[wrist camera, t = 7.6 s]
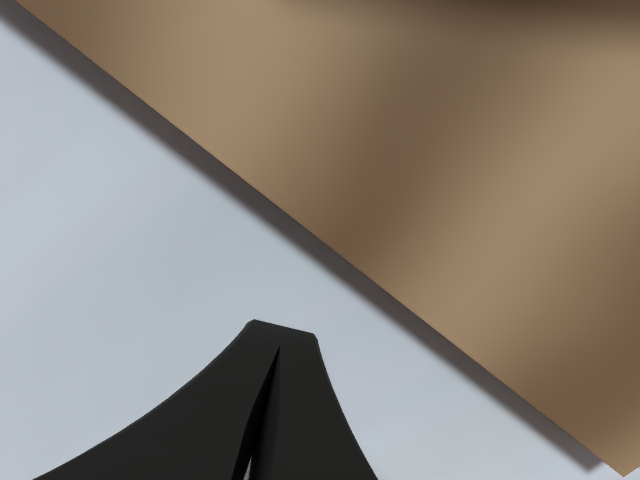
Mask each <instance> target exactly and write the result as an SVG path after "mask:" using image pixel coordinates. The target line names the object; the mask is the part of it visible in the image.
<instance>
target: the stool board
mask: <svg viewBox="0 0 640 480" xmlns="http://www.w3.org/2000/svg"><path fill="white" fill-rule="evenodd" d="M15 1H16V2H18V3H19V4H20V5H21V6H23V7H24V8H25V9H27V10H28V11H29V12H30V13H32V14H33V15H34V16H36V17H37V18H38V19H39V20H41V21H42V22H43V23H44V24H46V25H47V26H48V27H50V28H51V29H52V30H53V31H55V32H56V33H57V34H59V35H60V36H61V37H62V38H64V39H65V40H66V41H67V42H69V43H70V44H71V45H73V46H74V47H75V48H76V49H78V50H79V51H80V52H81V53H83V54H84V55H85V56H87V57H88V58H89V59H90V60H92V61H93V62H94V63H96V64H97V65H98V66H99V67H101V68H102V69H103V70H104V71H106V72H107V73H108V74H110V75H111V76H112V77H113V78H115V79H116V80H117V81H119V82H120V83H121V84H122V85H124V86H125V87H126V88H127V89H129V90H130V91H131V92H133V93H134V94H135V95H136V96H138V97H139V98H140V99H141V100H143V101H144V102H145V103H147V104H148V105H149V106H150V107H152V108H153V109H154V110H156V111H157V112H158V113H159V114H161V115H162V116H163V117H164V118H166V119H167V120H168V121H170V122H171V123H172V124H173V125H175V126H176V127H177V128H179V129H180V130H181V131H182V132H184V133H185V134H186V135H187V136H189V137H190V138H191V139H193V140H194V141H195V142H196V143H198V144H199V145H200V146H201V147H203V148H204V149H205V150H207V151H208V152H209V153H210V154H212V155H213V156H214V157H216V158H217V159H218V160H219V161H221V162H222V163H223V164H224V165H226V166H227V167H228V168H230V169H231V170H232V171H233V172H235V173H236V174H237V175H239V176H240V177H241V178H242V179H244V180H245V181H246V182H247V183H249V184H250V185H251V186H253V187H254V188H255V189H256V190H258V191H259V192H260V193H262V194H263V195H264V196H265V197H267V198H268V199H269V200H270V201H272V202H273V203H274V204H276V205H277V206H278V207H279V208H281V209H282V210H283V211H284V212H286V213H287V214H288V215H290V216H291V217H292V218H293V219H295V220H296V221H297V222H299V223H300V224H301V225H302V226H304V227H305V228H306V229H307V230H309V231H310V232H311V233H313V234H314V235H315V236H316V237H318V238H319V239H320V240H322V241H323V242H324V243H325V244H327V245H328V246H329V247H330V248H332V249H333V250H334V251H336V252H337V253H338V254H339V255H341V256H342V257H343V258H344V259H346V260H347V261H348V262H350V263H351V264H352V265H353V266H355V267H356V268H357V269H359V270H360V271H361V272H362V273H364V274H365V275H366V276H367V277H369V278H370V279H371V280H373V281H374V282H375V283H376V284H378V285H379V286H380V287H382V288H383V289H384V290H385V291H387V292H388V293H389V294H390V295H392V296H393V297H394V298H396V299H397V300H398V301H399V302H401V303H402V304H403V305H404V306H406V307H407V308H408V309H410V310H411V311H412V312H413V313H415V314H416V315H417V316H419V317H420V318H421V319H422V320H424V321H425V322H426V323H427V324H429V325H430V326H431V327H433V328H434V329H435V330H436V331H438V332H439V333H440V334H442V335H443V336H444V337H445V338H447V339H448V340H449V341H450V342H452V343H453V344H454V345H456V346H457V347H458V348H459V349H461V350H462V351H463V352H465V353H466V354H467V355H468V356H470V357H471V358H472V359H473V360H475V361H476V362H477V363H479V364H480V365H481V366H482V367H484V368H485V369H486V370H487V371H489V372H490V373H491V374H493V375H494V376H495V377H496V378H498V379H499V380H500V381H502V382H503V383H504V384H505V385H507V386H508V387H509V388H510V389H512V390H513V391H514V392H516V393H517V394H518V395H519V396H521V397H522V398H523V399H525V400H526V401H527V402H528V403H530V404H531V405H532V406H533V407H535V408H536V409H537V410H539V411H540V412H541V413H542V414H544V415H545V416H546V417H547V418H549V419H550V420H551V421H553V422H554V423H555V424H556V425H558V426H559V427H560V428H562V429H563V430H564V431H565V432H567V433H568V434H569V435H570V436H572V437H573V438H574V439H576V440H577V441H578V442H579V443H581V444H582V445H583V446H585V447H586V448H587V449H588V450H590V451H591V452H592V453H593V454H595V455H596V456H597V457H599V458H600V459H601V460H602V461H604V462H605V463H606V464H607V465H609V466H610V467H611V468H613V469H614V470H615V471H616V472H618V473H619V474H620V475H622V476H623V477H625V476H626V475H628V474H629V473H630V472H632V471H633V470H635V469H636V468H638V467H639V466H640V0H15Z"/></svg>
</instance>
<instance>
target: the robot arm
mask: <svg viewBox="0 0 640 480" xmlns="http://www.w3.org/2000/svg"><path fill="white" fill-rule="evenodd" d="M251 456H252V458H251ZM250 459H251V465H250V472H249V480H378V479H377V477H376V475H375V474H374V472H373V470H372V468H371V467H370V465H369V463H368V461H367V460H366V458H365V456H364V454H363V452H362V450H361V448H360V447H359V445H358V443H357V441H356V439H355V437H354V435H353V433H352V431H351V429H350V427H349V424H348V422H347V420H346V418H345V416H344V414H343V411H342V409H341V407H340V404H339V402H338V399H337V397H336V395H335V392H334V390H333V387H332V385H331V382H330V380H329V377H328V374H327V371H326V368H325V365H324V362H323V359H322V356H321V352H320V348H319V344H318V340H317V338H316V337H315V335H314V334H313V333H309V332H305V331H301V330H296V329H292V328H288V327H284V326H280V325H276V324H272V323H267V322H263V321H259V320H255V319H254V320H252V321H250V322H248V323H247V324H246V326H245V327H244V328H243V330H242V331H241V332H240V333H239V334H238V336H237V337H236V338H235V339H234V340H233V341H232V342H231V343H230V344H229V345H228V346H227V347H226V348H225V349H224V350H223V351H222V352H221V353H220V354H219V355H218V356H217V357H216V358H215V359H214V360H213V361H212V362H211V363H209V364H208V365H207V366H206V367H205V368H204V369H203V370H202V371H201V372H200V373H199V374H197V375H196V376H195V377H194V378H193V379H191V380H190V381H189V382H188V383H186V384H185V385H184V386H183V387H181V388H180V389H179V390H178V391H176V392H175V393H174V394H173V395H171V396H170V397H169V398H168V399H166V400H165V401H164V402H162V403H161V404H159V405H158V406H157V407H155V408H154V409H153V410H151V411H150V412H148V413H147V414H145V415H144V416H143V417H141V418H140V419H138V420H137V421H135V422H133V423H132V424H130V425H129V426H127V427H126V428H124V429H123V430H121V431H120V432H118V433H116V434H115V435H113V436H111V437H110V438H108V439H106V440H105V441H103V442H101V443H100V444H98V445H96V446H94V447H93V448H91V449H89V450H88V451H86V452H84V453H83V454H81V455H79V456H77V457H75V458H74V459H72V460H70V461H68V462H66V463H65V464H63V465H61V466H59V467H57V468H55V469H53V470H51V471H49V472H47V473H45V474H43V475H41V476H39V477H37V478H35V479H33V480H243V479H244V476H245V473H246V471H247V468H248V465H249V462H250Z"/></svg>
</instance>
